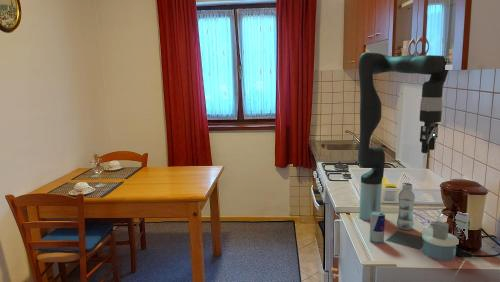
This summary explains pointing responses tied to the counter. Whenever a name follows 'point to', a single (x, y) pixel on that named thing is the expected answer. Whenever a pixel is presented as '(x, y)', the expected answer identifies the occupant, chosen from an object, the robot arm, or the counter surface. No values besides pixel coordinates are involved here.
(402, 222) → the plastic bottle
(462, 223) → the syrup box
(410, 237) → the mat
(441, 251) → the bowl
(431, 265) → the counter surface
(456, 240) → the lid
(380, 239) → the energy drink
